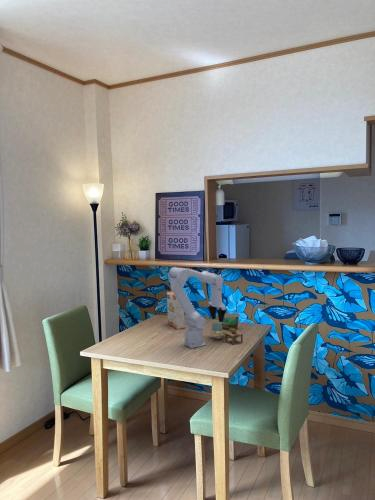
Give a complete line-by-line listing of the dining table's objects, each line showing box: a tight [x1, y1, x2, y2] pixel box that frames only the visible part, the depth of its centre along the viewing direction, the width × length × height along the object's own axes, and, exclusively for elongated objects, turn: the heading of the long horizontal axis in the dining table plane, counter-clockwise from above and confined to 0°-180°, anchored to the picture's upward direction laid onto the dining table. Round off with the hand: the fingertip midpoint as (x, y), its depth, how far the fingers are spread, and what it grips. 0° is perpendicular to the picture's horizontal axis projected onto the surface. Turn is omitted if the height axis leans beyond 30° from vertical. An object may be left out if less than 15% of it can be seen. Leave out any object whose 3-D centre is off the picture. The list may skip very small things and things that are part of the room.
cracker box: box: [166, 291, 186, 330], centre depth 255 cm, size 14×6×21 cm, turn 25°
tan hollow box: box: [224, 328, 244, 346], centre depth 221 cm, size 7×7×7 cm
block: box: [211, 321, 223, 332], centre depth 227 cm, size 4×4×4 cm
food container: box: [221, 312, 240, 331], centre depth 245 cm, size 12×6×10 cm, turn 62°
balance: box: [209, 328, 240, 341], centre depth 230 cm, size 18×8×5 cm, turn 118°
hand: (217, 320), depth 227 cm, fingers open, 7 cm apart
